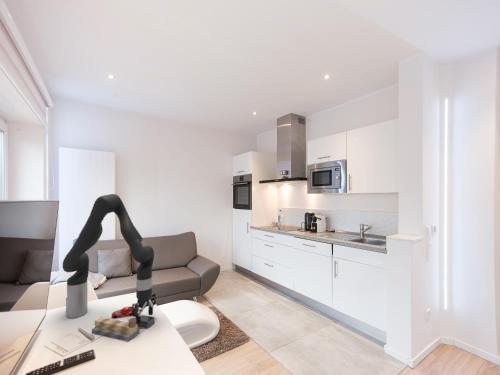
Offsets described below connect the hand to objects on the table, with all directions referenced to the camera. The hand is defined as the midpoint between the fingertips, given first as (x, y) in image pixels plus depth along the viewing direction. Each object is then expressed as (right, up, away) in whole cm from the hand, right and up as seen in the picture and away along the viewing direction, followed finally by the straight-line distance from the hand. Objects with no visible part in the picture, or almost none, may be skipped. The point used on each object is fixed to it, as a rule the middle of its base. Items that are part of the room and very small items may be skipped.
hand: (144, 319), depth 123 cm
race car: (-15, -4, +10) cm, 18 cm away
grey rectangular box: (0, -3, 0) cm, 3 cm away
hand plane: (-11, -3, -7) cm, 13 cm away
